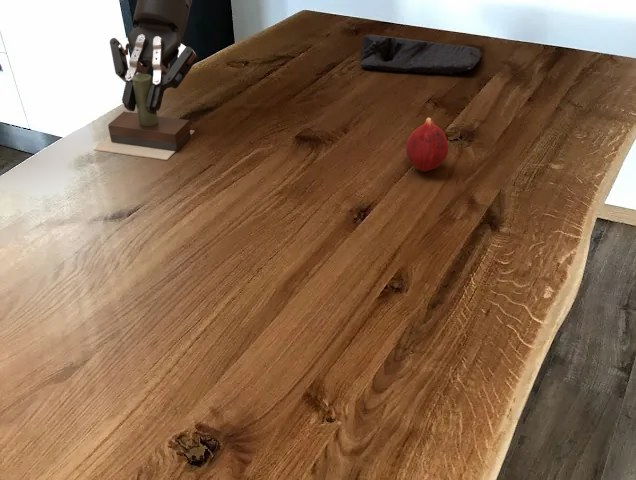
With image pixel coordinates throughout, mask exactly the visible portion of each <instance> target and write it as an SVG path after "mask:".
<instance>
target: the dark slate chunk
mask: <svg viewBox="0 0 636 480" xmlns="http://www.w3.org/2000/svg"><path fill="white" fill-rule="evenodd" d="M361 44H362V45H361V51H360V64H359V66H360V67H362V68H364V69H366V70H372V69H374V70H383V71H388V72H389V71H390V72H401V73H408V72H412V73H413V72H414V73H421V74H423V73H426V74H431V73H432V74H441V75H446V74H448V75H453V74H457V73H460V74H461V73H464V72H469V71H471V70H472V69H474V67H476V65H477V64H478V62H479V63H480V59H481V58H482V53H481V51H480V50H479V49H478V48H477V47H473V46H465V45H457V44H447V43H441V42H435V41H428V40H419V39H412V38H411V39H410V38H406V37H405V38H404V37H395V36H388V35H387V36H385V35H377V34H366V35H365V36H363V37H362V42H361ZM386 60H389V61H386Z"/></svg>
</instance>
